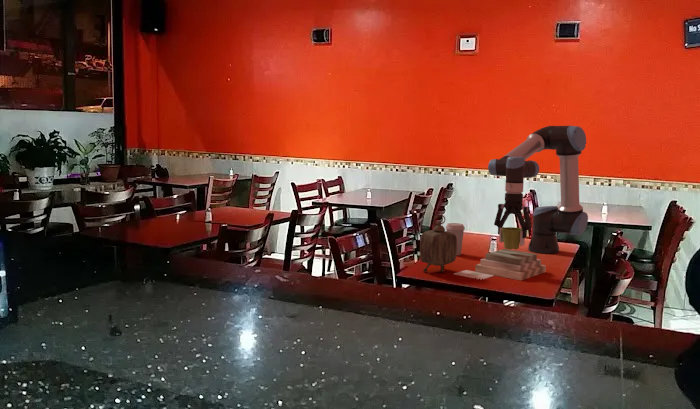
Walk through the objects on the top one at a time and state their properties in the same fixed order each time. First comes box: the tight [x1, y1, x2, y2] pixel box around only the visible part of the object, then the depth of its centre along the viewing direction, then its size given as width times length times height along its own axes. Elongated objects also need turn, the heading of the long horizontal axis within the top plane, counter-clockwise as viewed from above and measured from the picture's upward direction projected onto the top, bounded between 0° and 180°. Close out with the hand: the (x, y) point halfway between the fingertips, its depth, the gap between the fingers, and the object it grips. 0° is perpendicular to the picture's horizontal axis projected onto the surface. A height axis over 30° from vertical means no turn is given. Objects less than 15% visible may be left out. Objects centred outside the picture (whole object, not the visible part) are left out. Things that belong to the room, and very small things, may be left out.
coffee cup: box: [445, 222, 466, 256], centre depth 310 cm, size 10×10×15 cm
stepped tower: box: [474, 248, 547, 281], centre depth 274 cm, size 22×22×8 cm
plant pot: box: [501, 226, 522, 250], centre depth 272 cm, size 9×9×9 cm
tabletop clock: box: [419, 214, 457, 273], centre depth 271 cm, size 14×9×25 cm, turn 127°
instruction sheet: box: [453, 269, 495, 281], centre depth 268 cm, size 10×14×1 cm
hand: (511, 243), depth 273 cm, fingers closed on plant pot, 9 cm apart
